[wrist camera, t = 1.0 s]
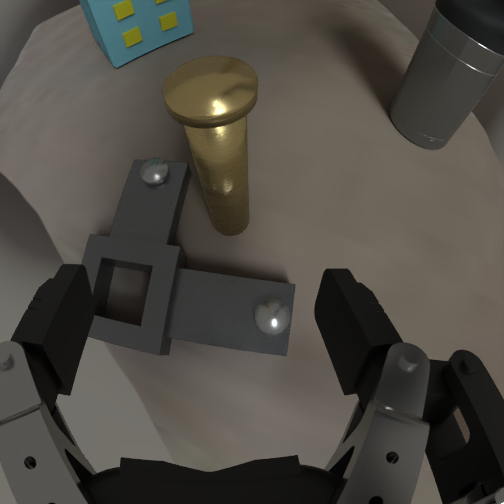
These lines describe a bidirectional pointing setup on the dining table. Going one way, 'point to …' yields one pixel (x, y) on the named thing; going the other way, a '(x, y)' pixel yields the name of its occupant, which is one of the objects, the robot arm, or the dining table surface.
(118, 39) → the toy
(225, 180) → the link pin
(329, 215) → the dining table surface
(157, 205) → the riveted metal bracket
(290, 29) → the dining table surface
